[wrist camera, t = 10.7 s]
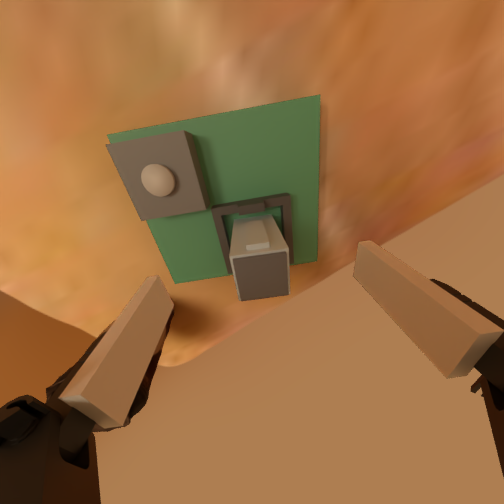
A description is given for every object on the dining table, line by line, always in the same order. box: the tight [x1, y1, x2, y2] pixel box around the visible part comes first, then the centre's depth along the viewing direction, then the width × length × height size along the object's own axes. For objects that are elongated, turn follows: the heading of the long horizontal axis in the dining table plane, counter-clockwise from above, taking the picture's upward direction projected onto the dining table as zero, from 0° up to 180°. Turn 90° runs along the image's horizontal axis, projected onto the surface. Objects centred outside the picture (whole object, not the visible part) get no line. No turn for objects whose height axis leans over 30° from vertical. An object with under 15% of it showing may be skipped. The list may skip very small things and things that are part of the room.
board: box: [106, 95, 320, 284], centre depth 18 cm, size 16×18×5 cm
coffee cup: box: [45, 308, 174, 432], centre depth 21 cm, size 9×8×13 cm
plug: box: [229, 214, 290, 301], centre depth 16 cm, size 4×4×8 cm
